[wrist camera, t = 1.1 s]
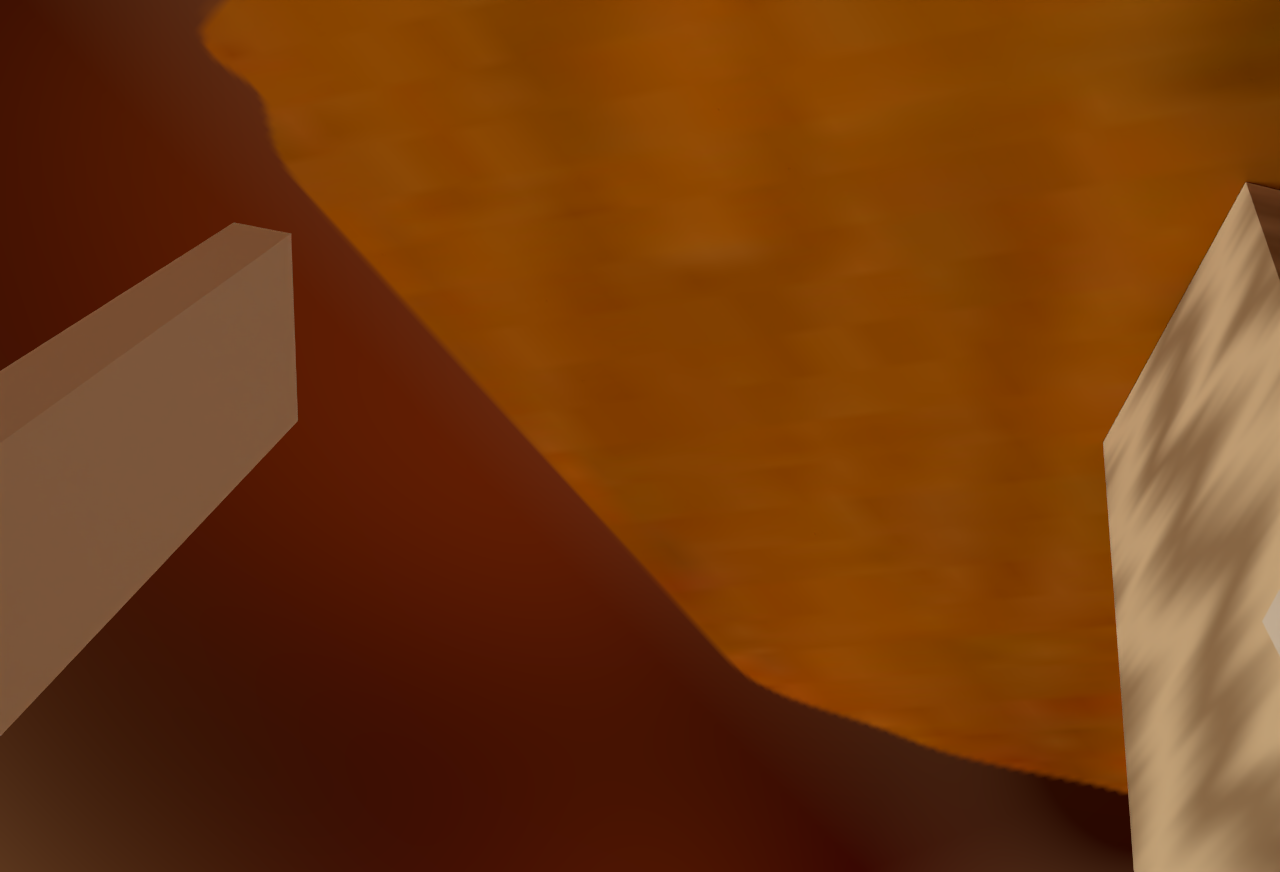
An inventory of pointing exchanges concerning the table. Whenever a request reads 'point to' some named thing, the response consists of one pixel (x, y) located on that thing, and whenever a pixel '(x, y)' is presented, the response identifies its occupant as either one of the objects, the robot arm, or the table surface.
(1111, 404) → the table surface
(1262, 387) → the beige patterned tall block
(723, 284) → the table surface
